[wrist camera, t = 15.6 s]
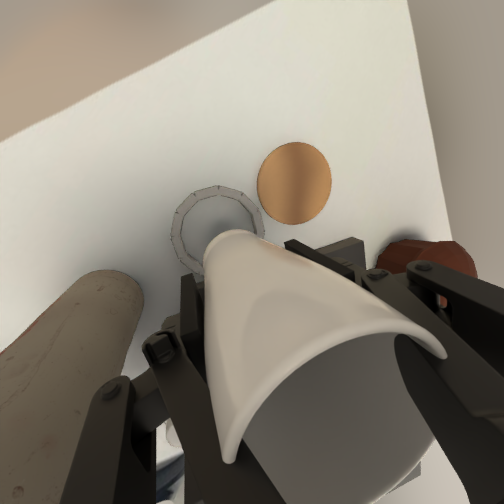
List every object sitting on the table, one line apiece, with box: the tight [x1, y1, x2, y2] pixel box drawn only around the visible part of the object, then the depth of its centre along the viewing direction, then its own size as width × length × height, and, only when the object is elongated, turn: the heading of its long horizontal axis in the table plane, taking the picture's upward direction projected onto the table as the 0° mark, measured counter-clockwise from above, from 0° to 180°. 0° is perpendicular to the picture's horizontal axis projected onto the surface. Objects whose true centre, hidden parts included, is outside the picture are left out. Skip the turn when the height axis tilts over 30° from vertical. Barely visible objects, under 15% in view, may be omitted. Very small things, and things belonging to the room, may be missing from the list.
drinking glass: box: [203, 229, 448, 504], centre depth 13 cm, size 7×7×15 cm
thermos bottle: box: [0, 270, 144, 504], centre depth 16 cm, size 8×8×28 cm
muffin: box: [375, 239, 478, 307], centre depth 35 cm, size 12×11×10 cm
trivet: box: [257, 142, 332, 225], centre depth 31 cm, size 10×10×1 cm
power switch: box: [316, 237, 366, 269], centre depth 34 cm, size 11×9×4 cm
